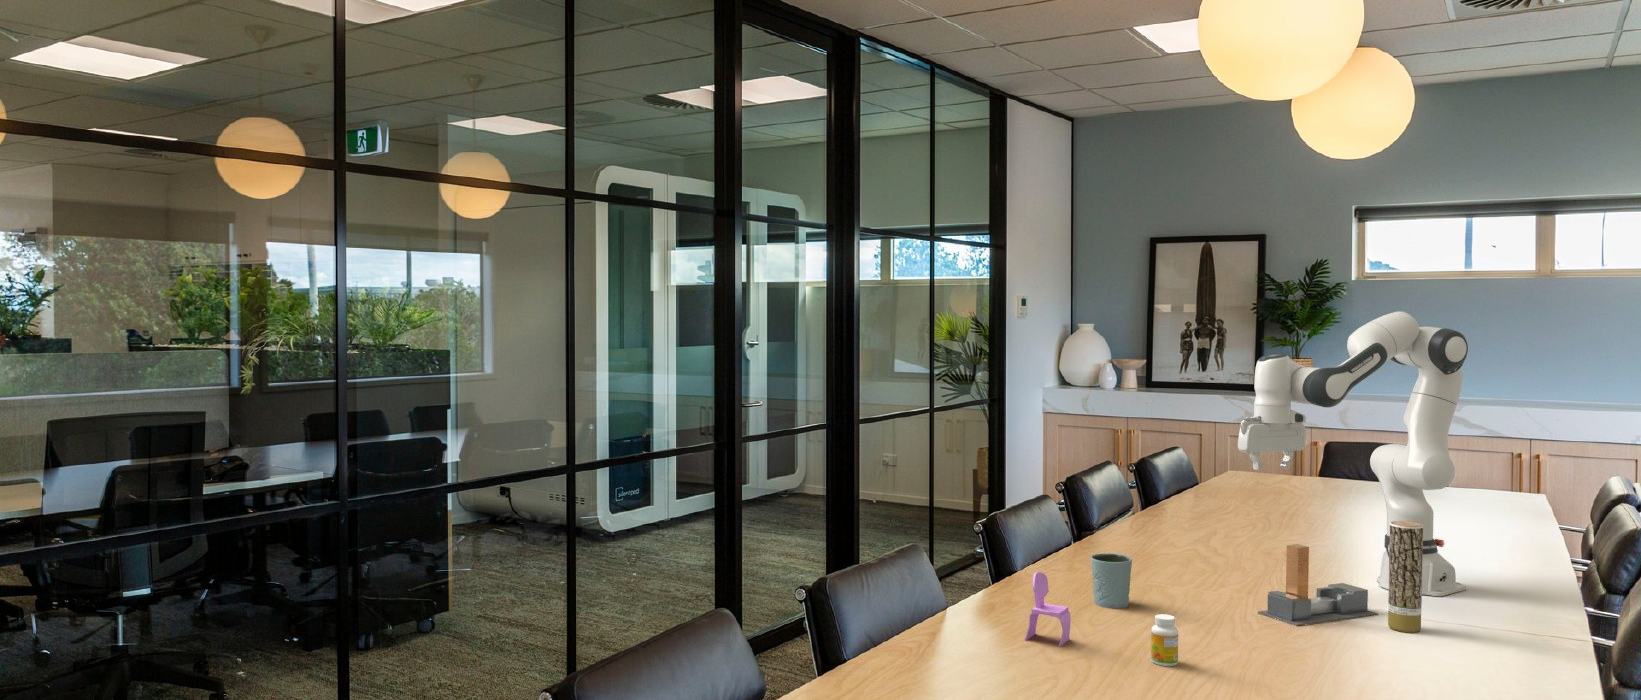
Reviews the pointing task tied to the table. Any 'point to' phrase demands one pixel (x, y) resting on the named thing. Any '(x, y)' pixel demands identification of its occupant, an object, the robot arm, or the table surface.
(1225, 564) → the table surface
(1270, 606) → the socket
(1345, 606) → the grey u-shaped block
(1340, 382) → the robot arm
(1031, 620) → the toy chair
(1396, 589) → the paper tube
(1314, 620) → the grey rectangular plate
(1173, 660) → the supplement bottle
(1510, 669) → the table surface
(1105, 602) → the grey-green cup
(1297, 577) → the brown piece
